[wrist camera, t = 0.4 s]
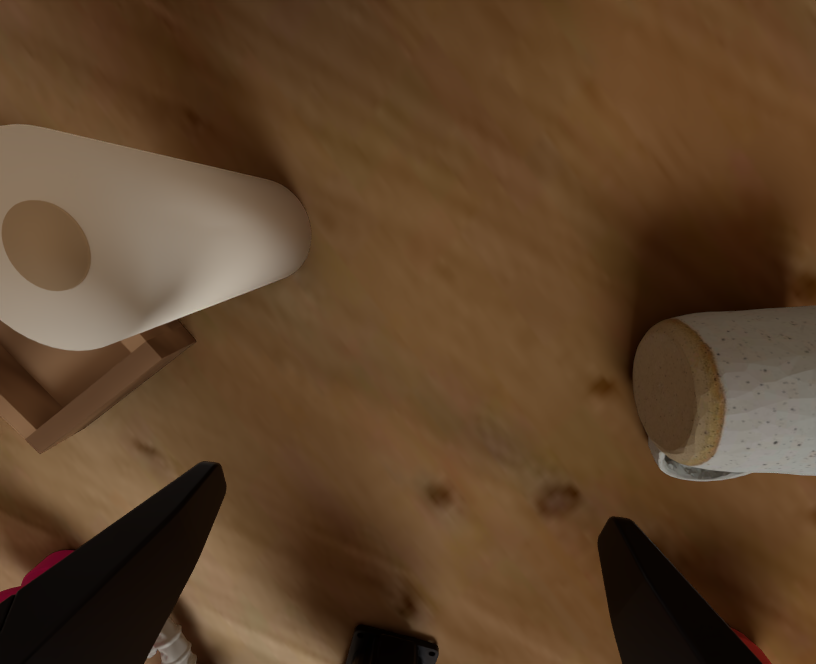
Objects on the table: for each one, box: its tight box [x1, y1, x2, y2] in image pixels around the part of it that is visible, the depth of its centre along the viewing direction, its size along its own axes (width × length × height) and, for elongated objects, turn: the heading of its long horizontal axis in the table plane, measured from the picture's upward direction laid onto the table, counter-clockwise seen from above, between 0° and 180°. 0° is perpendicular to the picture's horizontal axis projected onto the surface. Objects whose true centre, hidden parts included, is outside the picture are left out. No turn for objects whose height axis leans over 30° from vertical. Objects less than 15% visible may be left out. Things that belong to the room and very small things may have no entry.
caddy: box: [0, 319, 196, 454], centre depth 22 cm, size 11×11×3 cm
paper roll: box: [0, 124, 311, 351], centre depth 15 cm, size 6×6×12 cm
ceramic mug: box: [633, 306, 816, 481], centre depth 18 cm, size 11×8×8 cm
